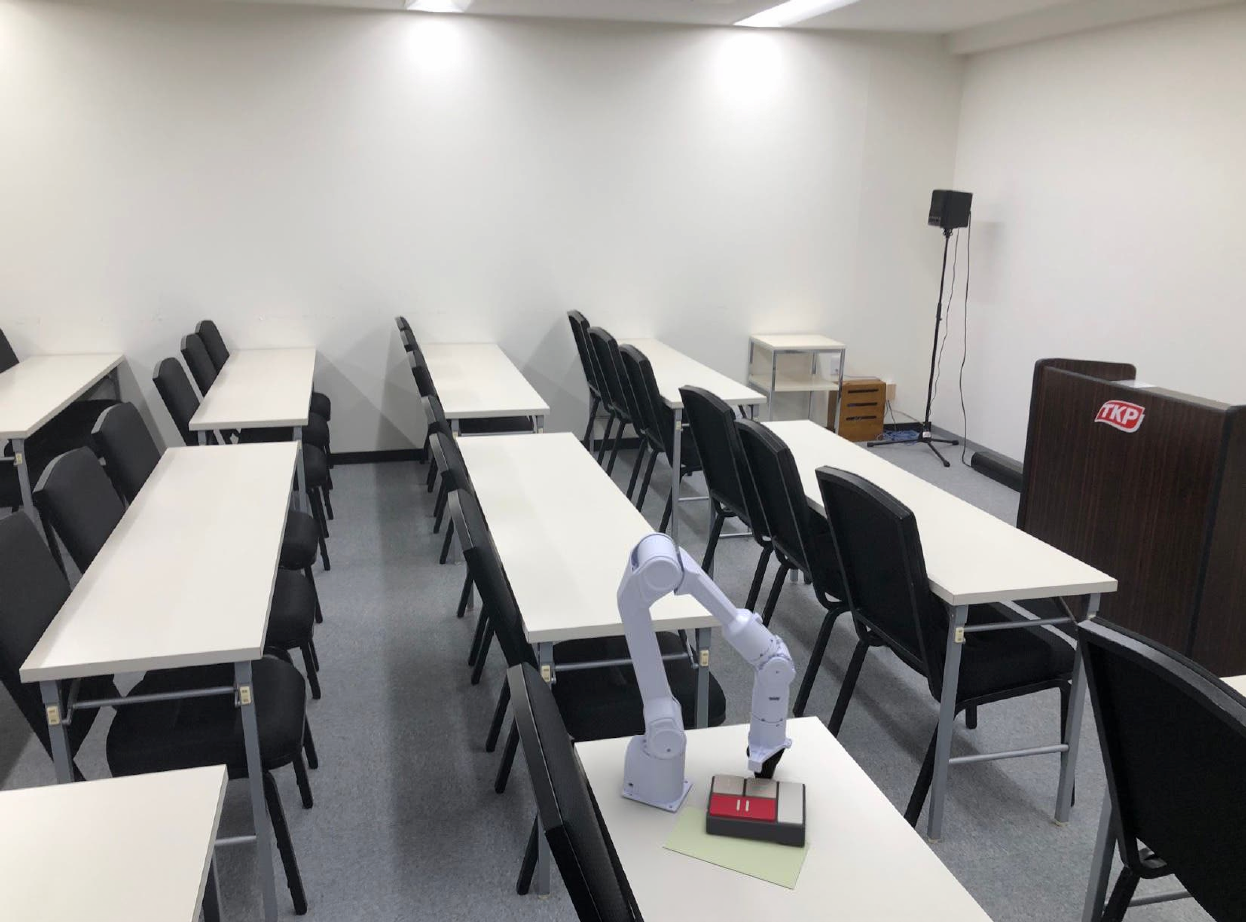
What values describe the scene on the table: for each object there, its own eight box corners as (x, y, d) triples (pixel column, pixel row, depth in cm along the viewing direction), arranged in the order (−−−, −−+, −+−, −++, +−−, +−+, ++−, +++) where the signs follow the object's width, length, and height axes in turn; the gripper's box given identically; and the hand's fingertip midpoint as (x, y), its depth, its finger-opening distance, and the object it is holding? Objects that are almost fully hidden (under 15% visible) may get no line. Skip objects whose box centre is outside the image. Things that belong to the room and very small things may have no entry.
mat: (662, 847, 142) (662, 846, 142) (686, 806, 151) (686, 805, 151) (793, 889, 135) (793, 888, 135) (810, 843, 144) (810, 842, 144)
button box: (712, 770, 154) (805, 779, 152) (712, 793, 156) (804, 802, 153) (705, 813, 144) (805, 823, 141) (705, 837, 145) (804, 847, 142)
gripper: (782, 743, 143) (775, 817, 147) (804, 696, 156) (797, 766, 160) (737, 731, 146) (732, 805, 150) (762, 686, 158) (757, 755, 162)
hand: (763, 784), depth 155 cm, fingers closed
